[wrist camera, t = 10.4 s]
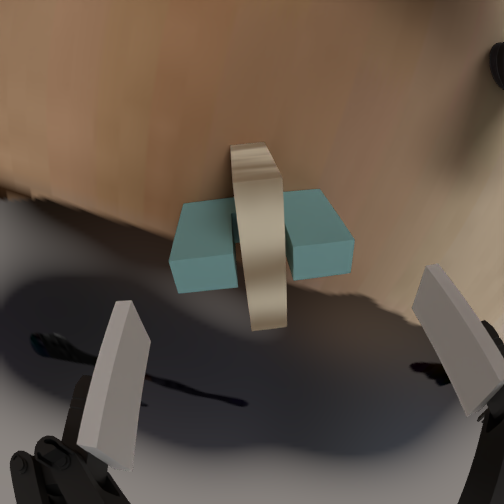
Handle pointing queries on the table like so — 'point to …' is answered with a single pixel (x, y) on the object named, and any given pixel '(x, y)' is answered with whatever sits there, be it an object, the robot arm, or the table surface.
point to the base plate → (227, 234)
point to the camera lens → (497, 63)
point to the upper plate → (261, 233)
